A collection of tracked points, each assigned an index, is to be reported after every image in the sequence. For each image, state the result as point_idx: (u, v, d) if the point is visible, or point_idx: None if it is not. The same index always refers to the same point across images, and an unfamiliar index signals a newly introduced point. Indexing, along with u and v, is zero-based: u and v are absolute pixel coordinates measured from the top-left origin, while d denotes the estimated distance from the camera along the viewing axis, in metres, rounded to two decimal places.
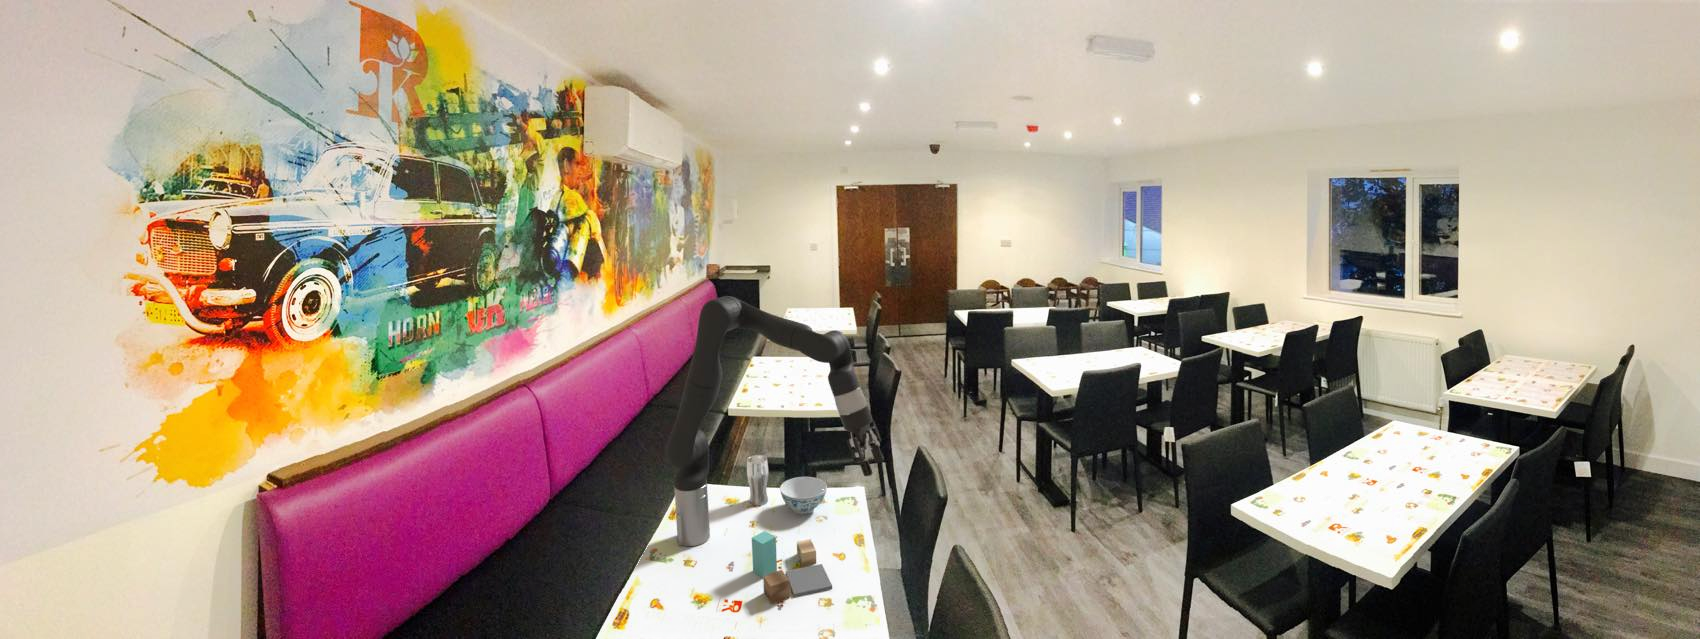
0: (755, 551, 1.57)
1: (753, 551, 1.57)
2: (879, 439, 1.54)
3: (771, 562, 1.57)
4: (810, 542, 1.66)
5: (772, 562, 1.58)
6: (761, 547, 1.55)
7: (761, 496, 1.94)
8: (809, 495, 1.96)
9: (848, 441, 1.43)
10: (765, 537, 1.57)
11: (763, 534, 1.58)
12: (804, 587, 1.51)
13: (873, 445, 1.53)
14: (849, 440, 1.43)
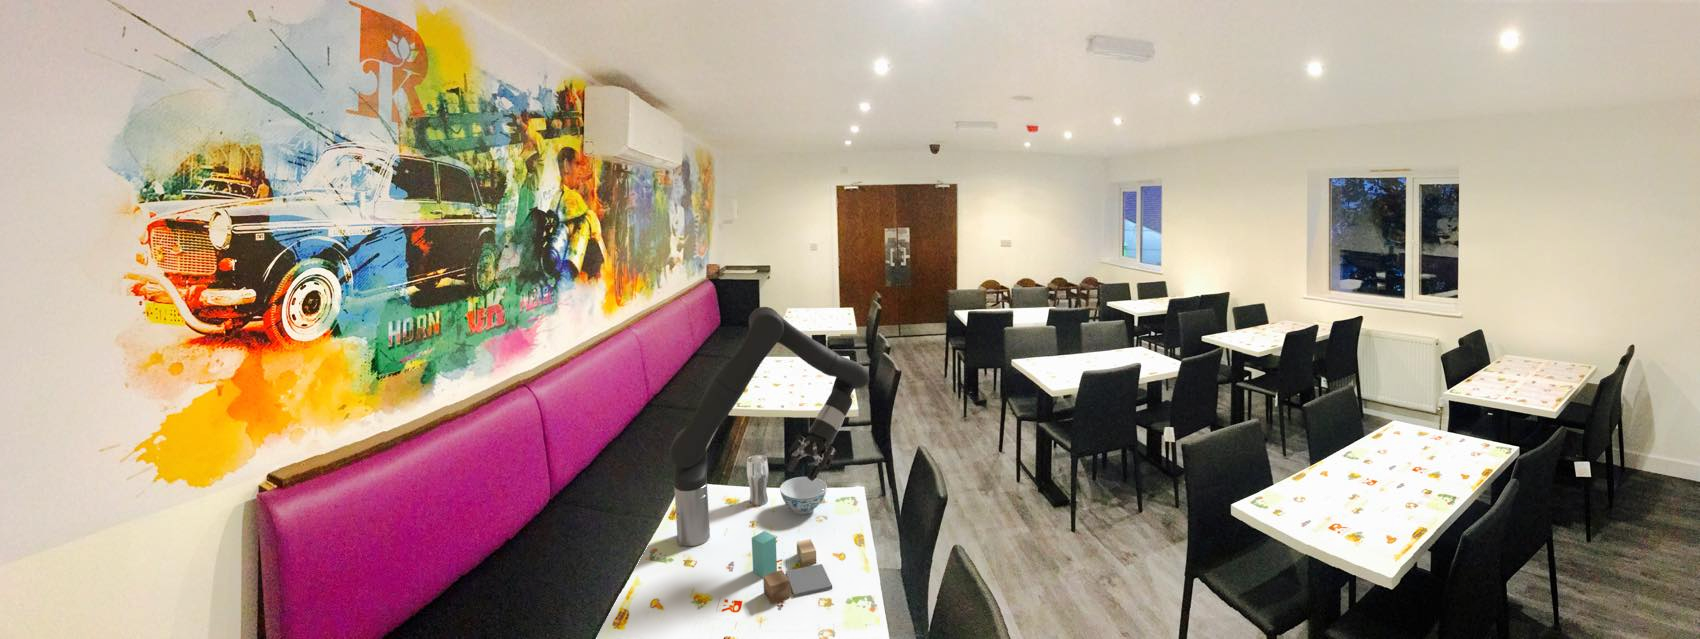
0: (755, 551, 1.57)
1: (753, 551, 1.57)
2: None
3: (771, 562, 1.57)
4: (810, 542, 1.66)
5: (772, 562, 1.58)
6: (761, 547, 1.55)
7: (761, 496, 1.94)
8: (809, 495, 1.96)
9: (832, 448, 1.64)
10: (765, 537, 1.57)
11: (763, 534, 1.59)
12: (804, 587, 1.51)
13: (796, 456, 1.69)
14: (832, 448, 1.64)
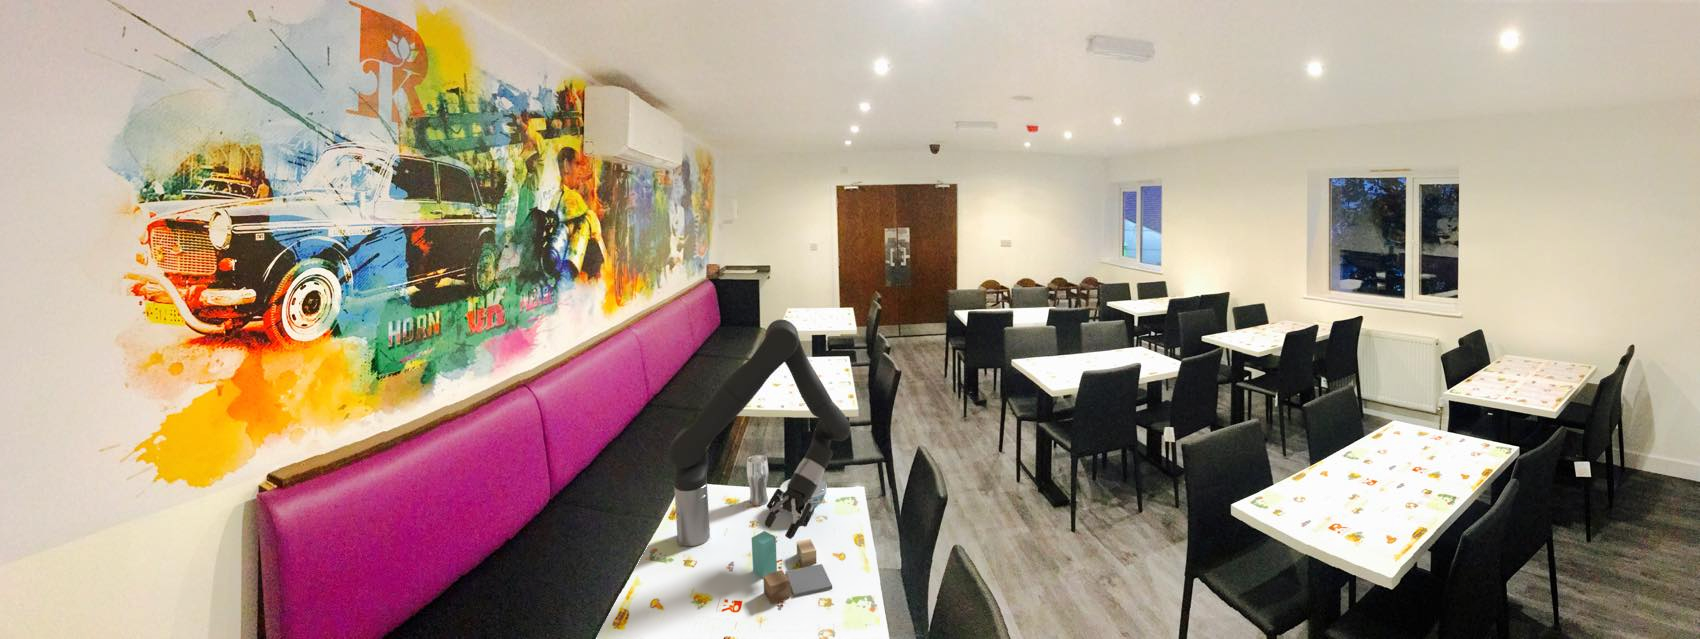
0: (755, 551, 1.57)
1: (753, 551, 1.57)
2: None
3: (771, 562, 1.57)
4: (810, 542, 1.66)
5: (772, 562, 1.58)
6: (761, 547, 1.55)
7: (761, 496, 1.94)
8: None
9: (811, 505, 1.60)
10: (765, 537, 1.57)
11: (763, 534, 1.58)
12: (804, 587, 1.51)
13: (775, 511, 1.65)
14: (811, 504, 1.60)
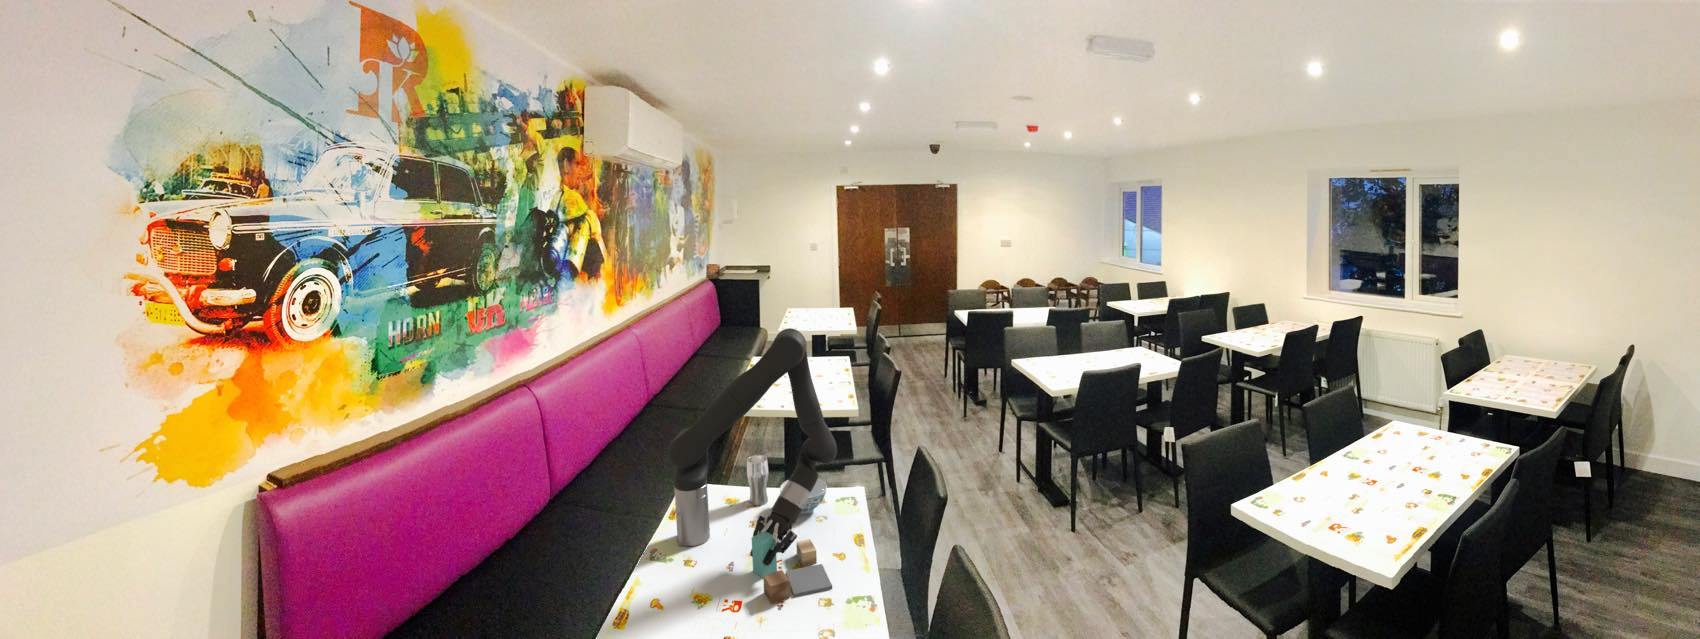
0: (755, 551, 1.57)
1: (753, 551, 1.57)
2: None
3: (771, 562, 1.57)
4: (810, 542, 1.66)
5: (772, 562, 1.58)
6: (761, 547, 1.55)
7: (761, 496, 1.94)
8: (809, 495, 1.96)
9: (792, 534, 1.56)
10: (765, 537, 1.57)
11: (763, 534, 1.58)
12: (804, 587, 1.51)
13: None
14: (793, 534, 1.56)
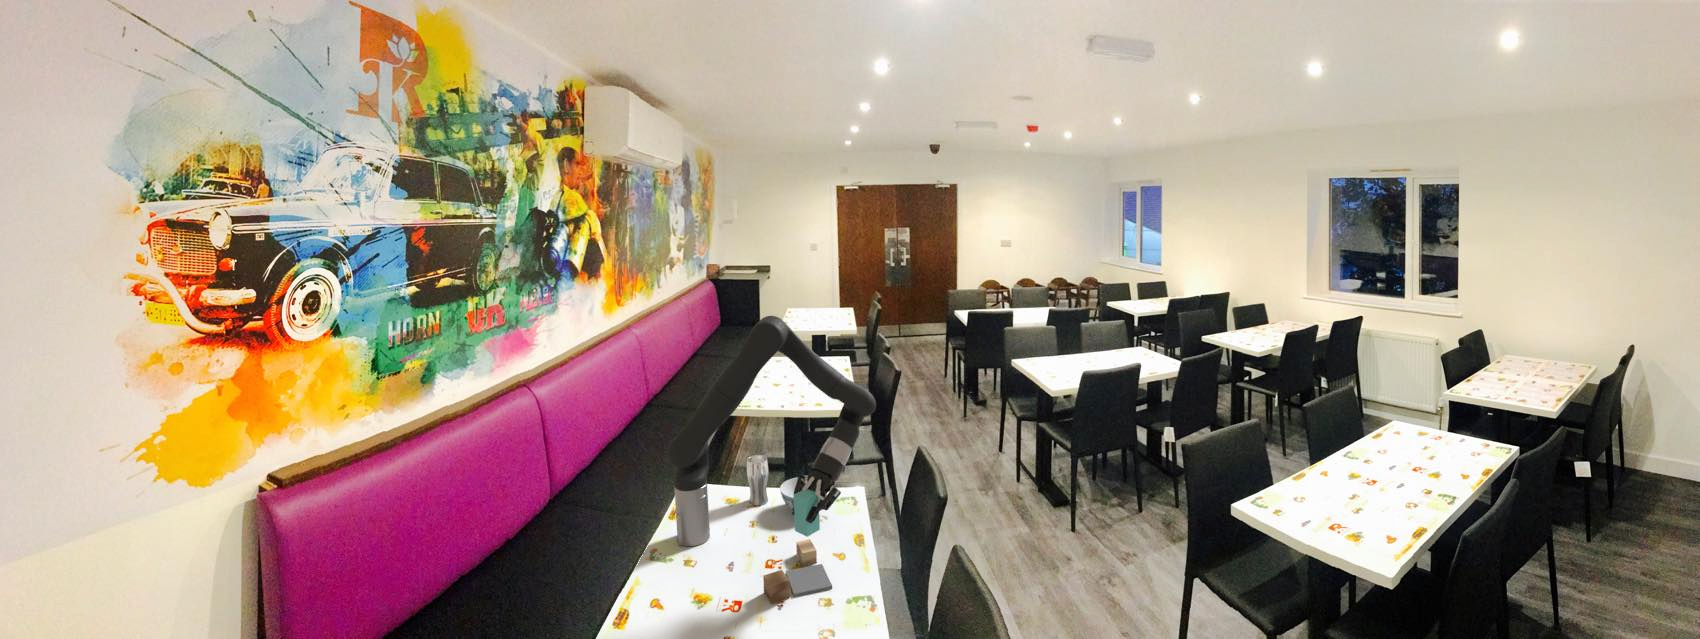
0: (797, 509, 1.50)
1: (795, 509, 1.51)
2: None
3: None
4: (810, 542, 1.66)
5: (815, 520, 1.51)
6: (804, 504, 1.48)
7: (761, 496, 1.94)
8: None
9: (836, 490, 1.49)
10: (807, 493, 1.50)
11: (805, 491, 1.52)
12: (804, 587, 1.51)
13: None
14: (837, 490, 1.49)
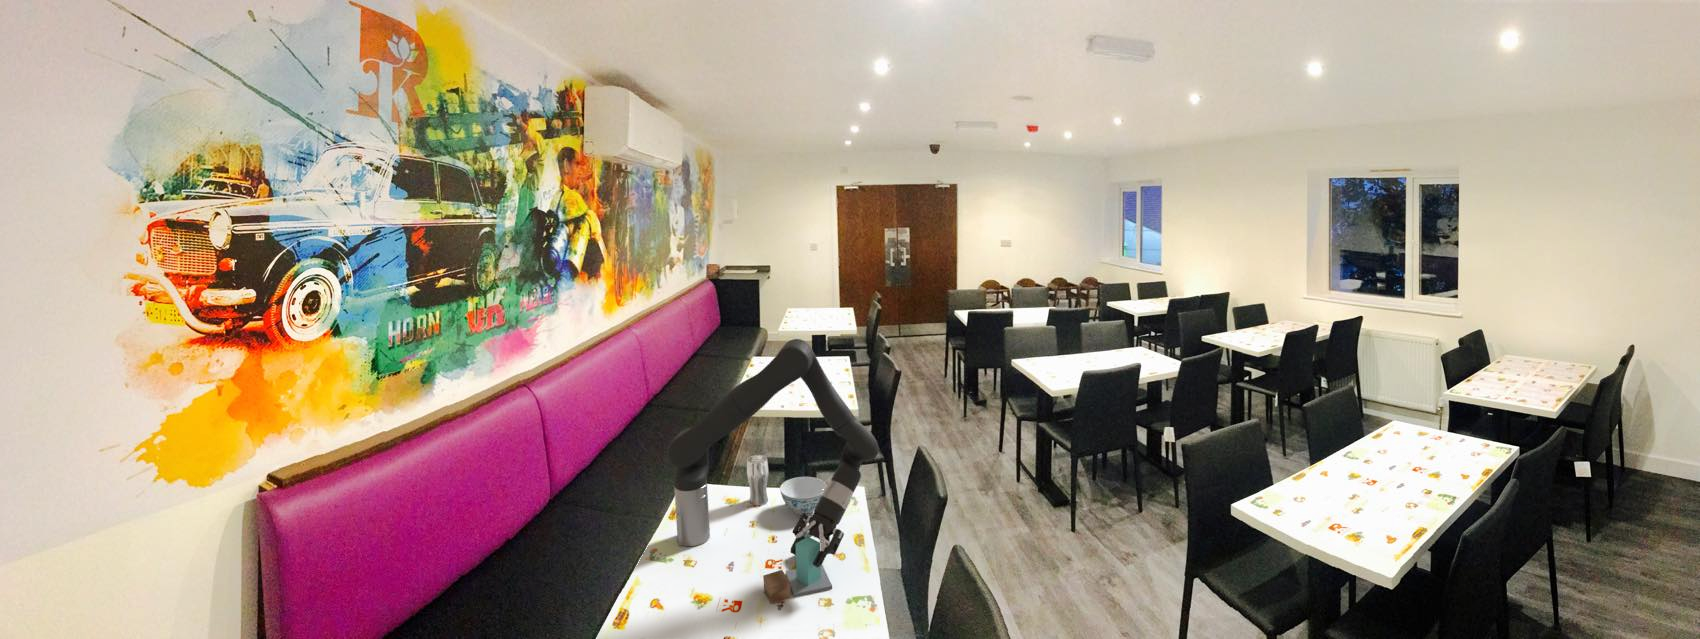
0: (799, 557, 1.52)
1: (797, 557, 1.53)
2: None
3: (816, 569, 1.53)
4: None
5: (817, 569, 1.53)
6: (806, 553, 1.50)
7: (761, 496, 1.94)
8: (809, 495, 1.96)
9: (840, 531, 1.51)
10: (809, 543, 1.53)
11: (807, 540, 1.54)
12: (804, 587, 1.51)
13: (801, 537, 1.57)
14: (840, 531, 1.52)
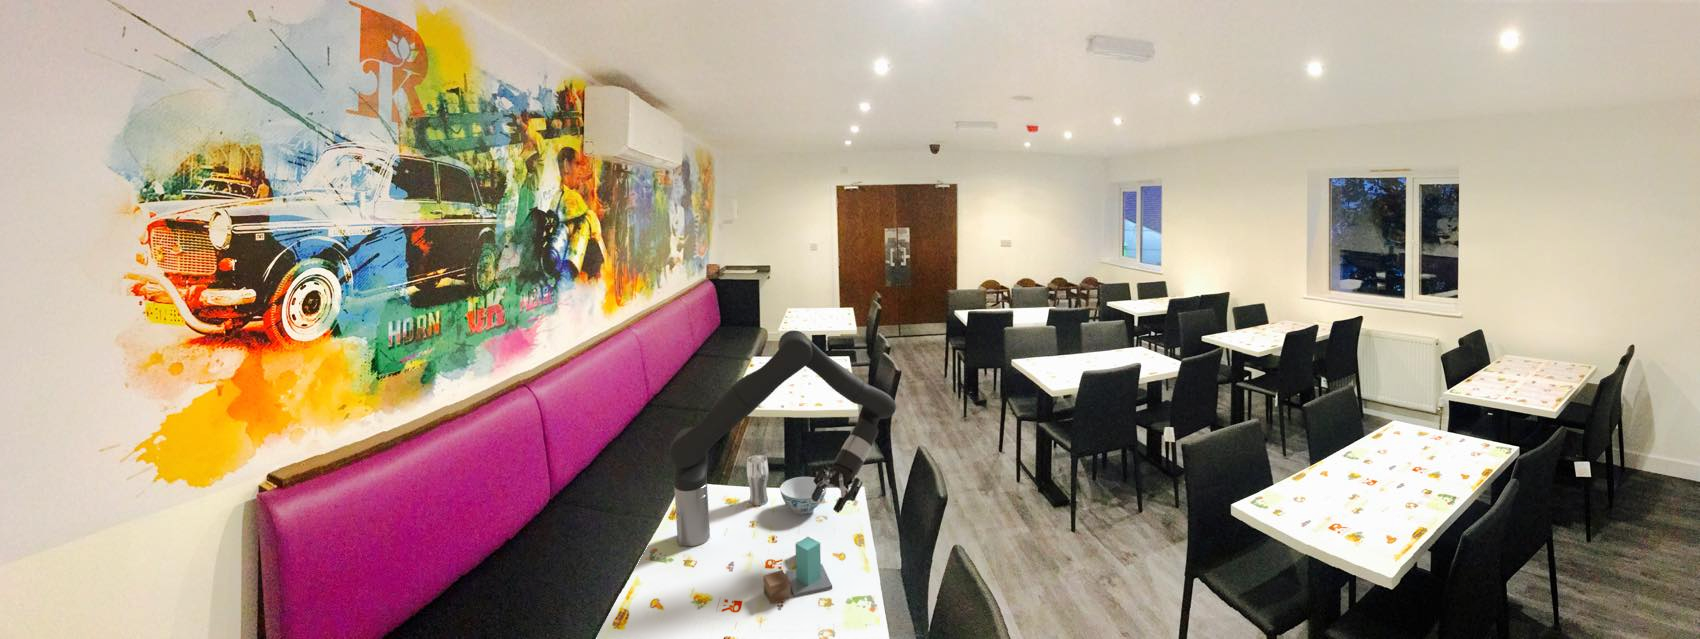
0: (799, 557, 1.52)
1: (797, 557, 1.53)
2: None
3: (816, 569, 1.53)
4: None
5: (817, 569, 1.53)
6: (806, 553, 1.50)
7: (761, 496, 1.94)
8: (809, 495, 1.96)
9: (859, 480, 1.62)
10: (809, 543, 1.53)
11: (807, 540, 1.54)
12: (804, 587, 1.51)
13: (821, 486, 1.68)
14: (859, 479, 1.63)
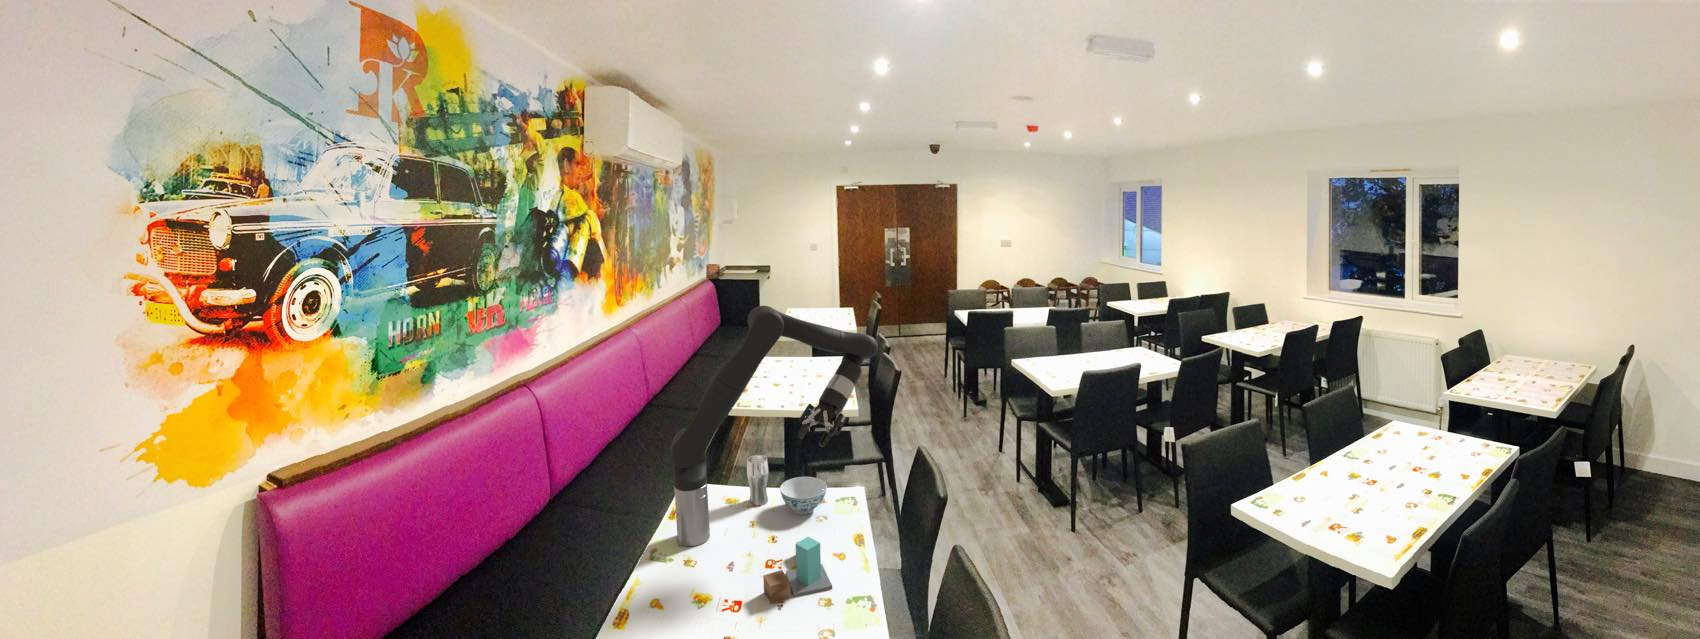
0: (799, 557, 1.52)
1: (797, 557, 1.53)
2: None
3: (816, 569, 1.53)
4: None
5: (817, 569, 1.53)
6: (806, 553, 1.50)
7: (761, 496, 1.94)
8: (809, 495, 1.96)
9: (842, 415, 1.67)
10: (809, 543, 1.53)
11: (807, 540, 1.54)
12: (804, 587, 1.51)
13: (807, 424, 1.72)
14: (843, 415, 1.67)
